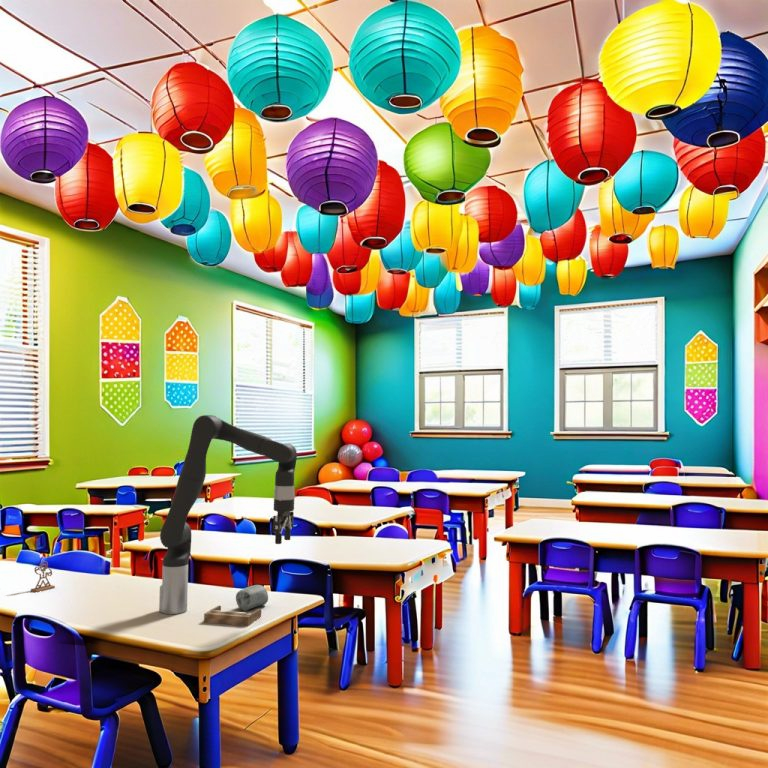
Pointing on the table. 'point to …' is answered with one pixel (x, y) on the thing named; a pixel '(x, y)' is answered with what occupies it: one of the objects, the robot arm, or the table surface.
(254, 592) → the spool
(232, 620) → the notched board
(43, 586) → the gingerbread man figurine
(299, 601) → the table surface
